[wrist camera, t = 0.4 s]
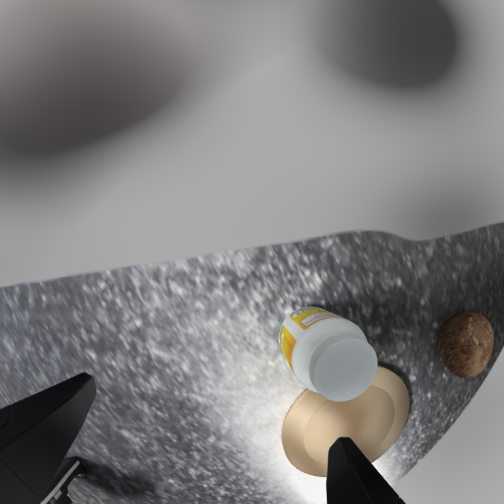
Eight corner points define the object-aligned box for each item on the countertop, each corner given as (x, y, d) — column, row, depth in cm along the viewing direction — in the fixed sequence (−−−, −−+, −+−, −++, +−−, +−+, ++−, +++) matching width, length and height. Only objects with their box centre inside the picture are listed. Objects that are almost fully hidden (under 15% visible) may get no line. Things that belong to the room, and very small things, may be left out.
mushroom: (472, 391, 20) (503, 375, 16) (420, 382, 23) (447, 363, 18) (477, 333, 25) (503, 308, 20) (429, 320, 28) (452, 293, 23)
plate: (330, 486, 22) (333, 492, 21) (251, 429, 22) (252, 435, 21) (421, 409, 23) (426, 413, 22) (364, 334, 23) (369, 337, 22)
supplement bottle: (302, 293, 24) (343, 305, 14) (346, 327, 23) (403, 353, 14) (265, 343, 23) (282, 385, 13) (311, 374, 23) (349, 423, 13)
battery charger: (66, 479, 20) (30, 521, 8) (48, 459, 20) (7, 498, 9) (95, 476, 20) (59, 528, 9) (76, 454, 21) (32, 503, 9)
